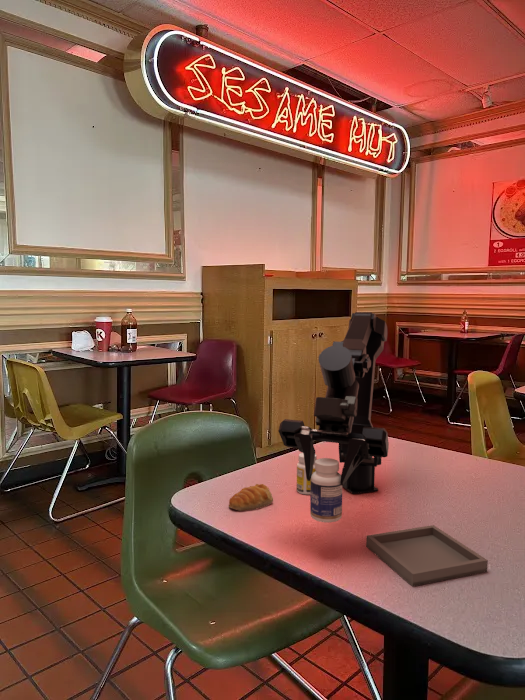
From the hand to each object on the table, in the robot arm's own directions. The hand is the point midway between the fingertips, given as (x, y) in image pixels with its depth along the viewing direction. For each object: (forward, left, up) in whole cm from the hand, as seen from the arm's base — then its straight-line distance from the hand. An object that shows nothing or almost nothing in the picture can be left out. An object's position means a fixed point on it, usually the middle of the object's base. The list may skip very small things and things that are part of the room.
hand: (324, 482), depth 91 cm
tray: (-16, +6, -13) cm, 21 cm away
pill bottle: (-1, -1, -7) cm, 7 cm away
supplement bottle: (-10, -29, -13) cm, 33 cm away
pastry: (+4, -26, -13) cm, 29 cm away
